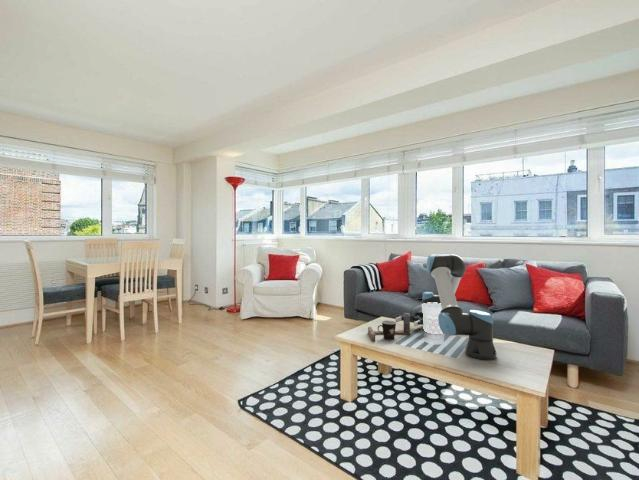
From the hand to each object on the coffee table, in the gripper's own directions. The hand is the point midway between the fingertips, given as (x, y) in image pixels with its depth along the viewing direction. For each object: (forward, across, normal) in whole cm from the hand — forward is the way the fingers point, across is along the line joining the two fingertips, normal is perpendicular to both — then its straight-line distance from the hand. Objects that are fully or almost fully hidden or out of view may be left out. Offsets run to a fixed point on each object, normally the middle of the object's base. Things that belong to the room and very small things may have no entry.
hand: (404, 322), depth 210 cm
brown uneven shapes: (+11, +3, -8) cm, 14 cm away
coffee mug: (+15, +4, -8) cm, 18 cm away
